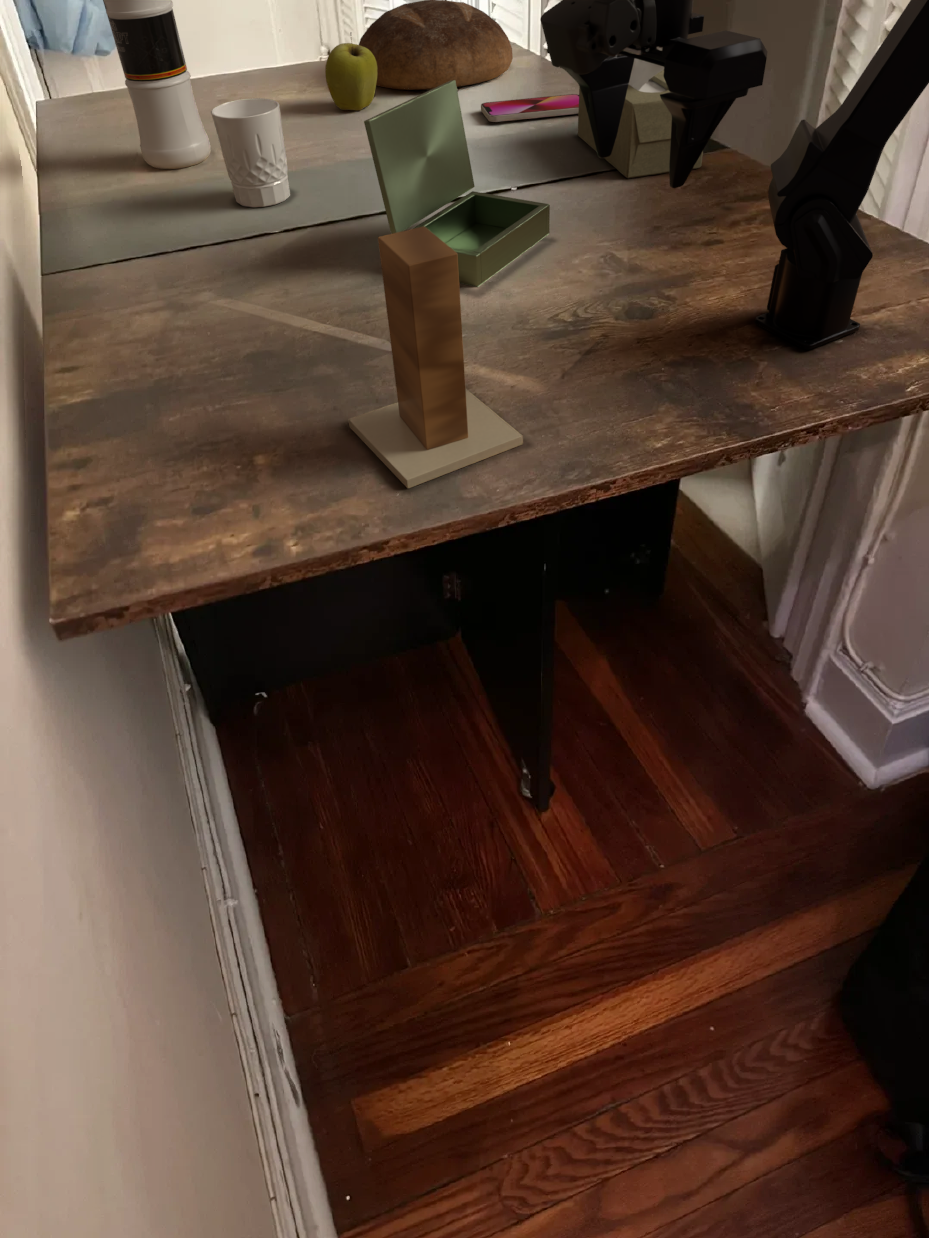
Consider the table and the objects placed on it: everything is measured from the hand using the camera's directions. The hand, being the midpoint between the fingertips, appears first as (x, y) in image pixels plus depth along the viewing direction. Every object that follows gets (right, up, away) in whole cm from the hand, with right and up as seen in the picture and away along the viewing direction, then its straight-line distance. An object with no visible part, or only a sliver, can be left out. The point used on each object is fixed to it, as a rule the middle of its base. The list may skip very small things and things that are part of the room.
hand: (638, 171), depth 71 cm
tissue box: (+8, +24, +43) cm, 50 cm away
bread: (-19, +55, +76) cm, 96 cm away
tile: (-17, -22, -2) cm, 28 cm away
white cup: (-39, +16, +38) cm, 57 cm away
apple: (-31, +42, +64) cm, 83 cm away
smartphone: (-4, +38, +57) cm, 68 cm away
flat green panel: (-18, +10, +17) cm, 27 cm away
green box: (-13, +2, +21) cm, 25 cm away
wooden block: (-17, -21, -3) cm, 27 cm away
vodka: (-54, +27, +50) cm, 78 cm away
